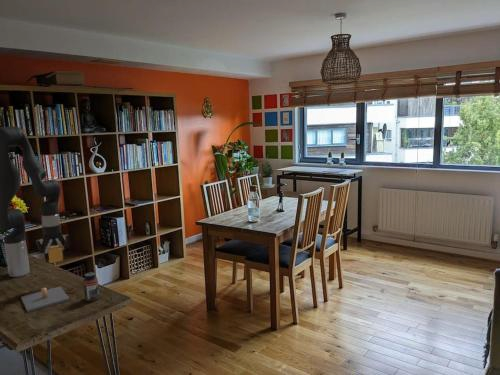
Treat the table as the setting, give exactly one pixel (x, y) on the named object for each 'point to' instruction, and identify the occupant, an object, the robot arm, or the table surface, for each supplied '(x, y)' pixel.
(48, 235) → the robot arm
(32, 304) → the thin gray plate
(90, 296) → the supplement bottle
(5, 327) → the table surface
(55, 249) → the mustard foam cube
